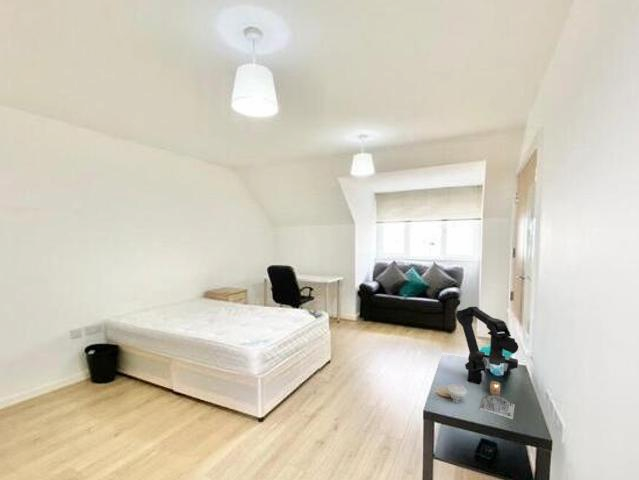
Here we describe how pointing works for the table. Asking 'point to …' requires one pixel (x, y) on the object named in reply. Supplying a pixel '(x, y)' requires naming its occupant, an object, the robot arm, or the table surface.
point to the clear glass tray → (498, 406)
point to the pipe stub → (494, 388)
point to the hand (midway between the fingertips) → (495, 375)
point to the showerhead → (456, 391)
